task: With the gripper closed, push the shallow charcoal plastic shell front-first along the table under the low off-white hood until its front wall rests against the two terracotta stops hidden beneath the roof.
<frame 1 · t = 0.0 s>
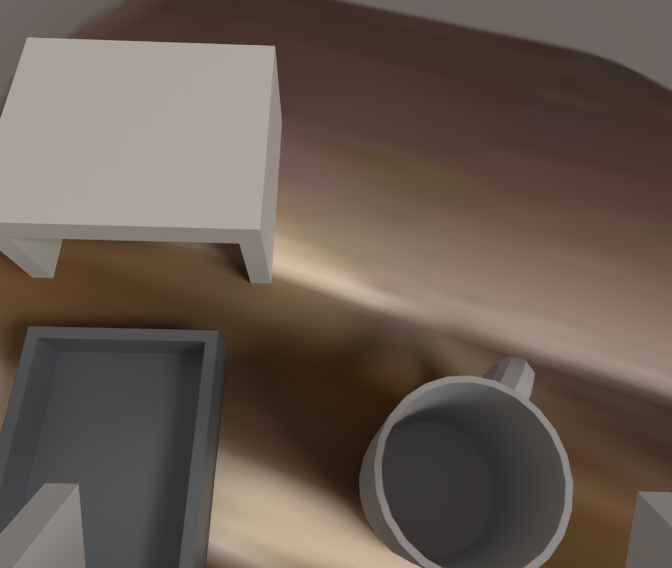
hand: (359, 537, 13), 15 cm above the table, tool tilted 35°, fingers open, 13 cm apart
cup: (440, 463, 28), on the table
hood: (166, 194, 34), on the table
shell: (119, 478, 27), on the table
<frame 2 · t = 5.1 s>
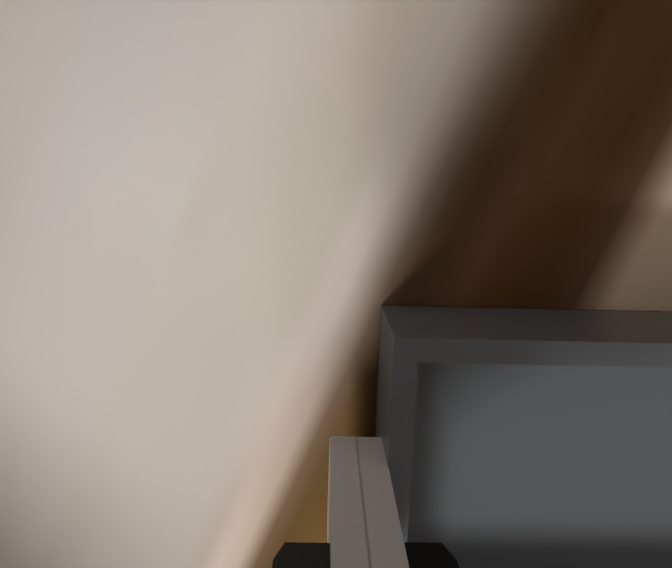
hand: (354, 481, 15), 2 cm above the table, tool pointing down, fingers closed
shell: (599, 460, 17), on the table, touching gripper
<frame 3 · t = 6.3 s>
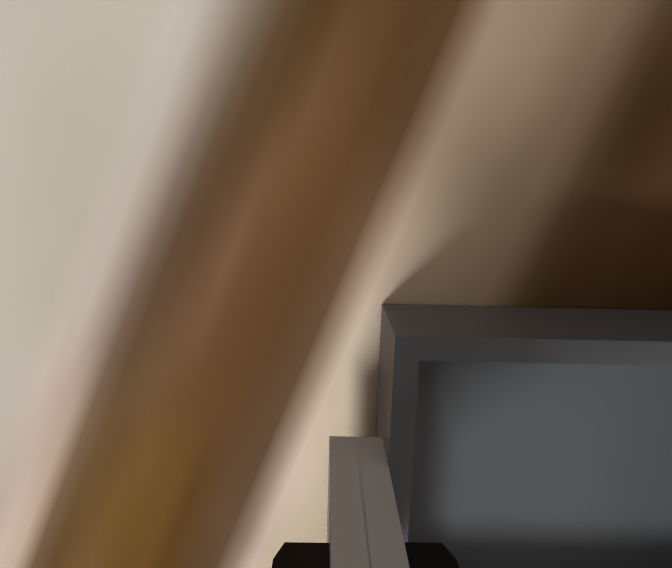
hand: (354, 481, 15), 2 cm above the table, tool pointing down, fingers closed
shell: (600, 458, 17), on the table, touching gripper
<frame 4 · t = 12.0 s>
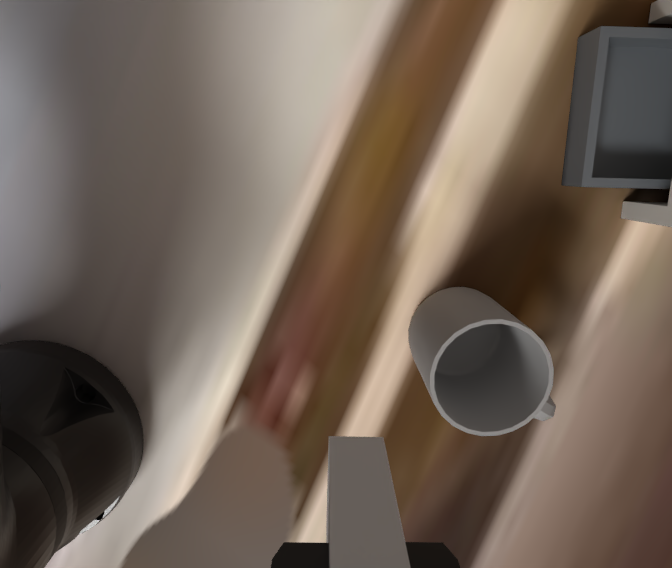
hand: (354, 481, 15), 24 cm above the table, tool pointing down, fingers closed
cup: (469, 341, 40), on the table
shell: (671, 116, 37), on the table
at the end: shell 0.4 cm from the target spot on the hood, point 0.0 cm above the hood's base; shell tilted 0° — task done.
